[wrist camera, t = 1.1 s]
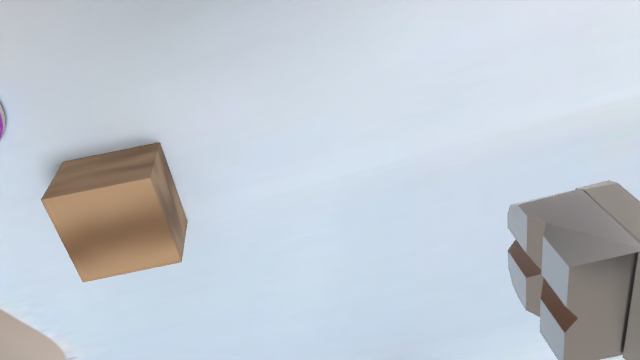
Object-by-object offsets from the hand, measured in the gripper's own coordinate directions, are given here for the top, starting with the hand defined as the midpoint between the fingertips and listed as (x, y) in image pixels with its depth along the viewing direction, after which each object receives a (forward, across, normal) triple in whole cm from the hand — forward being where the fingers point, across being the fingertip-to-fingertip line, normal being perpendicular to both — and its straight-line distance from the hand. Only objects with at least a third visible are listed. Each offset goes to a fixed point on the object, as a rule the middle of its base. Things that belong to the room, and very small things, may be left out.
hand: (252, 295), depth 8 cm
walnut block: (+36, +14, +16) cm, 42 cm away
